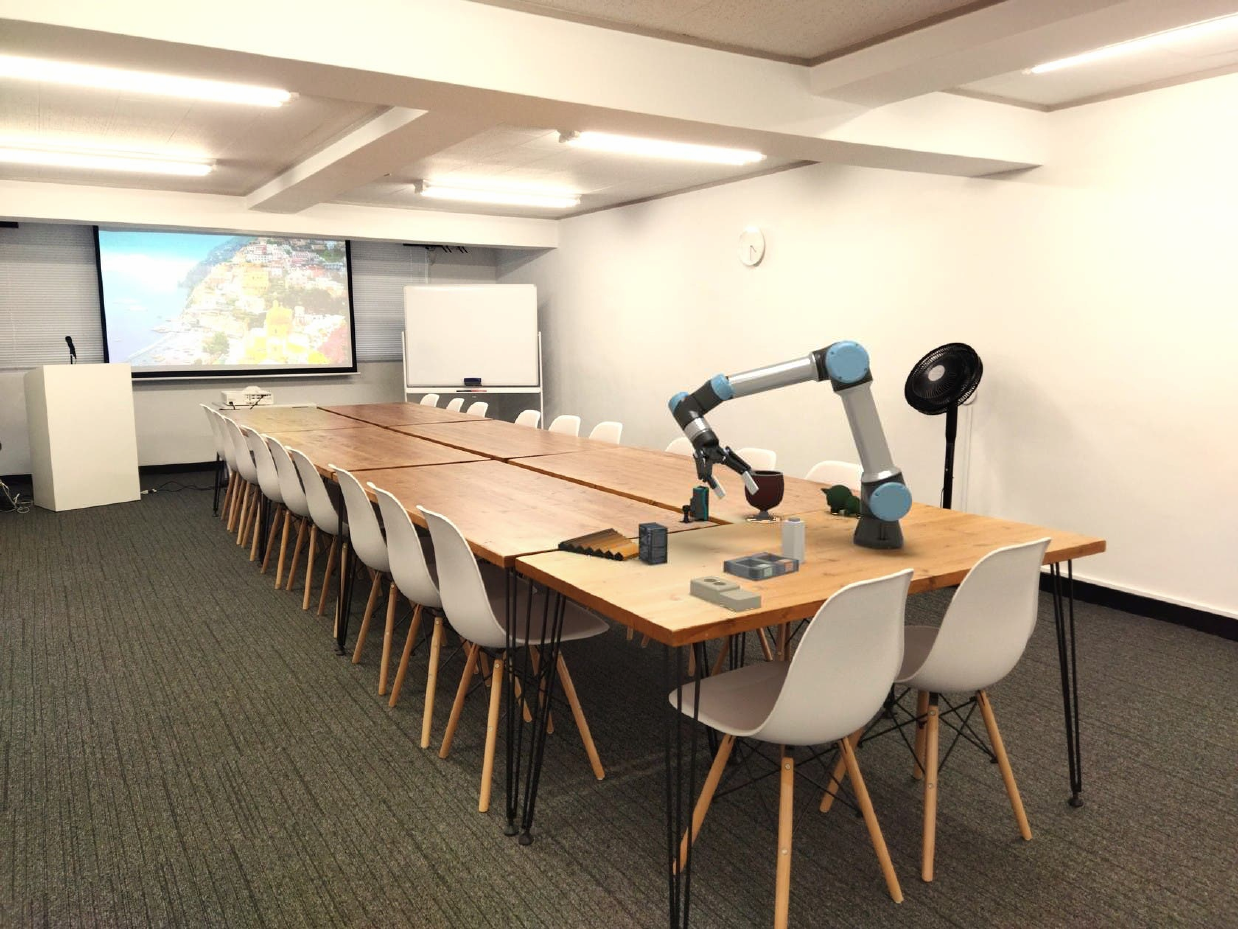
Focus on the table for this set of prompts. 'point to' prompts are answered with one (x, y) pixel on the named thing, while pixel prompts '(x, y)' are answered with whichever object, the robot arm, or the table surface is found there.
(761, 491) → the mate gourd
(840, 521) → the table surface
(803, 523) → the plug
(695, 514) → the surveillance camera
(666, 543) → the box
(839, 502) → the toy figurine
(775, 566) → the socket block
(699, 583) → the electrical outlet
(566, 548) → the pan flute
